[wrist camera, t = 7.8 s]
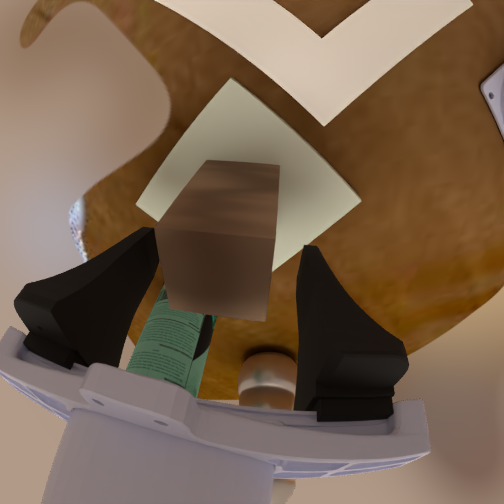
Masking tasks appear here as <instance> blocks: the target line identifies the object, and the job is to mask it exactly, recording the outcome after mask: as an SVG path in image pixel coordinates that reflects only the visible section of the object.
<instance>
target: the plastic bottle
mask: <svg viewBox="0 0 504 504" xmlns="http://www.w3.org/2000/svg"><path fill="white" fill-rule="evenodd" d="M296 380H297V365H296V363H295V362H294V361H293V360H292V359H291V358H290V357H289V356H287V355H285V354H281V353H277V352H261V353H257V354H254V355H252V356H250V357H249V358H248V359H247V360H246V361H245V362H244V363H243V365H242V367H241V370H240V373H239V376H238V390H239V395H240V397H239V405H241V406H249V407H257V408H267V409H279V410H293V408H294V400H295V390H296ZM294 489H295V478H293V479H280V478H273V488H272V496H271V504H285V503H286V502H287V500H288V499H289V498H290V497H291V496H292V494H293V491H294Z"/></svg>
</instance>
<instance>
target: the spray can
mask: <svg viewBox="0 0 504 504" xmlns="http://www.w3.org/2000/svg"><path fill="white" fill-rule="evenodd" d="M216 318H217V316H214V315H206V314H200V313H193V312H186V311H180V310H174V309H170V306H169V301H168V297H167V292H166V288H165V284H164V286H163V287H162V289H161V291H160V294H159V296H158V298H157V300H156V302H155V304H154V306H153V309H152V311H151V313H150V315H149V317H148V320H147V322H146V324H145V326H144V329H143V331H142V333H141V335H140V338H139V340H138V342H137V345H136V347H135V349H134V352H133V354H132V356H131V359H130V361H129V364H128V366H127V369H126V371H129V372H133V373H136V374H140V375H144V376H148V377H151V378H155V379H159V380H163V381H166V382H169V383H172V384H175V385H178V386H180V387H182V388H184V389H185V390H187V391H189V392H190V393H191V394H192V396H193V397H194V398H197V395H198V391H199V387H200V382H201V378H202V374H203V370H204V366H205V362H206V358H207V354H208V350H209V346H210V342H211V338H212V334H213V330H214V326H215V322H216Z"/></svg>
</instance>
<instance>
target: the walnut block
mask: <svg viewBox="0 0 504 504" xmlns="http://www.w3.org/2000/svg"><path fill="white" fill-rule="evenodd" d="M279 177H280V165H274V164H263V163H251V162H237V161H220V160H206V161H205V162H204V163H203V165H202V166H201V167H200V168H199V169H198V171H197V172H196V173H195V174H194V176H193V177H192V178H191V179H190V181H189V182H188V183H187V184H186V186H185V187H184V188H183V190H182V191H181V192H180V194H179V195H178V196H177V197H176V199H175V200H174V201H173V203H172V204H171V205H170V207H169V208H168V209H167V211H166V212H165V213H164V215H163V216H162V218H161V219H160V220H159V222H158V223H157V224H156V226H155V227H154V229H155V235H156V241H157V247H158V253H159V258H160V263H161V268H162V273H163V278H164V283H165V288H166V292H167V297H168V301H169V306H170V309H174V310H180V311H186V312H193V313H200V314H206V315H214V316H221V317H229V318H237V319H245V320H254V321H263V322H265V321H266V313H267V306H268V298H269V290H270V282H271V274H272V266H273V258H274V250H275V241H276V228H277V212H278V195H279Z"/></svg>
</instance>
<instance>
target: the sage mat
mask: <svg viewBox="0 0 504 504" xmlns="http://www.w3.org/2000/svg"><path fill="white" fill-rule="evenodd" d="M206 160H220V161H237V162H251V163H263V164H274V165H280V177H279V195H278V212H277V228H276V241H275V250H274V258H273V266H272V271H274V270H275V269H276V268H278V267H279V266H280V265H282V264H283V263H284V262H285V261H287V260H288V259H289V258H291V257H292V256H293V255H295V254H296V253H297V252H298V251H300V250H301V249H302V248H303V246H304V245H307V244H309V243H310V242H311V241H312V240H314V239H315V238H316V237H318V236H319V235H320V234H321V233H323V232H324V231H325V230H326V229H328V228H329V227H330V226H331V225H333V224H334V223H335V222H336V221H338V220H339V219H340V218H341V217H343V216H344V215H345V214H346V213H348V212H349V211H350V210H351V209H353V208H354V207H355V206H356V205H357V204H359V203H360V202H361V199H360V197H359V195H358V194H357V193H356V192H355V191H354V190H353V189H352V188H351V186H350V185H349V184H348V183H347V182H346V181H345V180H344V179H343V178H342V177H341V176H340V175H339V173H338V172H337V171H336V170H335V169H334V168H333V167H332V166H331V165H330V164H329V163H328V162H327V161H326V160H325V159H324V158H323V157H322V156H321V155H320V154H319V153H318V152H317V151H316V150H315V149H314V148H313V147H312V146H311V145H310V144H309V143H308V142H307V141H306V140H305V139H304V138H303V137H302V136H301V135H299V134H298V133H297V132H296V131H295V130H294V129H293V128H292V127H291V126H290V125H289V124H288V123H286V122H285V121H284V120H283V119H282V118H281V117H280V116H279V115H278V114H276V113H275V112H274V111H273V110H272V109H271V108H269V107H268V106H267V105H266V104H265V103H264V102H262V101H261V100H260V99H259V98H258V97H256V96H255V95H254V94H253V93H252V92H250V91H249V90H248V89H247V88H245V87H244V86H243V85H242V84H240V83H239V82H238V81H236V80H235V79H234V78H230V79H229V80H228V81H227V83H226V84H225V85H224V86H223V87H222V88H221V89H220V90H219V92H218V93H217V94H216V95H215V96H214V97H213V99H212V100H211V101H210V102H209V103H208V104H207V106H206V107H205V108H204V109H203V111H202V112H201V113H200V114H199V115H198V117H197V118H196V119H195V120H194V122H193V123H192V124H191V126H190V127H189V128H188V129H187V131H186V132H185V133H184V135H183V136H182V137H181V139H180V140H179V141H178V143H177V144H176V145H175V147H174V148H173V149H172V151H171V152H170V154H169V155H168V156H167V158H166V159H165V161H164V162H163V163H162V165H161V166H160V168H159V169H158V171H157V172H156V174H155V175H154V177H153V178H152V180H151V181H150V183H149V184H148V186H147V187H146V189H145V190H144V192H143V193H142V195H141V197H140V198H139V200H138V201H137V203H136V205H137V206H138V207H140V208H141V209H142V210H143V211H145V212H146V213H147V214H149V215H150V216H151V217H153V218H154V219H155V220H157V221H158V222H159V220H160V219H161V218H162V216H163V215H164V213H165V212H166V211H167V209H168V208H169V207H170V205H171V204H172V203H173V201H174V200H175V199H176V197H177V196H178V195H179V194H180V192H181V191H182V190H183V188H184V187H185V186H186V184H187V183H188V182H189V181H190V179H191V178H192V177H193V176H194V174H195V173H196V172H197V171H198V169H199V168H200V167H201V166H202V165H203V163H204V162H205V161H206Z"/></svg>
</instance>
